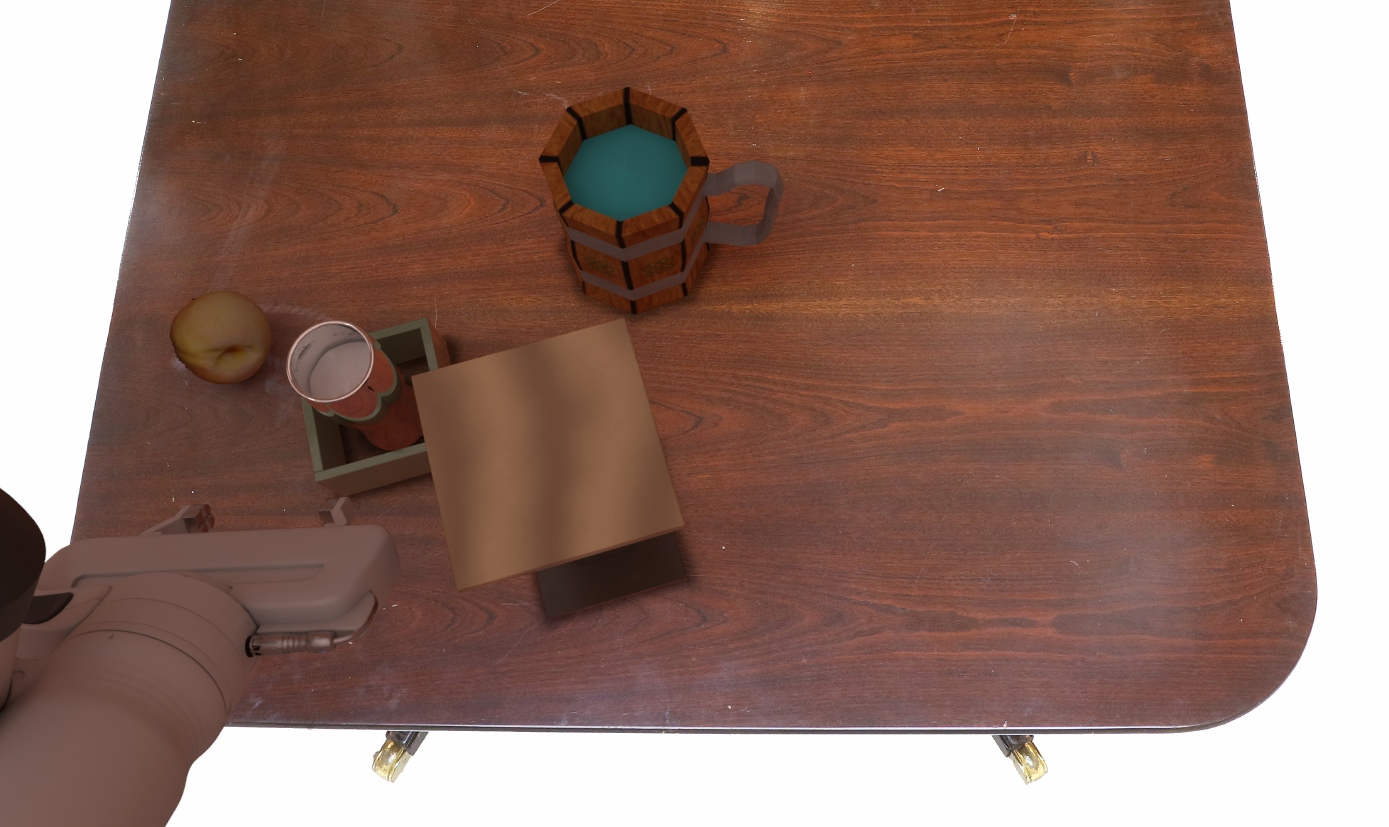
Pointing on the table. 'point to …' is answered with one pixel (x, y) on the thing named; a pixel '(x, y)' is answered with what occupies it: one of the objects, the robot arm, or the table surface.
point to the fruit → (221, 337)
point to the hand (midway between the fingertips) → (271, 509)
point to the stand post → (611, 575)
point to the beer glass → (354, 383)
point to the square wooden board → (544, 455)
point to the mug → (643, 198)
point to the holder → (386, 467)
